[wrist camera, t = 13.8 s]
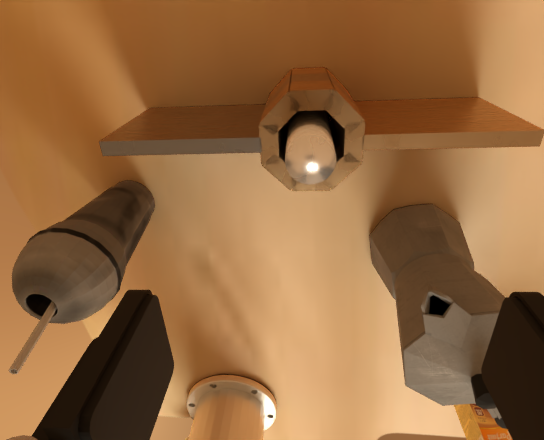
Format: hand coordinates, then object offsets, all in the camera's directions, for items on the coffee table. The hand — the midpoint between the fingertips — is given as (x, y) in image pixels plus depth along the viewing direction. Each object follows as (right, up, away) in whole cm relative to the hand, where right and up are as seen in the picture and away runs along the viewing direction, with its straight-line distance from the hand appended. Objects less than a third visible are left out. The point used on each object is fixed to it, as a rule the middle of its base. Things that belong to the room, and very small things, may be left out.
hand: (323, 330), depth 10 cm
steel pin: (+2, +13, +22) cm, 25 cm away
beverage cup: (-16, +5, +28) cm, 32 cm away
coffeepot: (+14, 0, +28) cm, 31 cm away
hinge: (+2, +13, +22) cm, 25 cm away
